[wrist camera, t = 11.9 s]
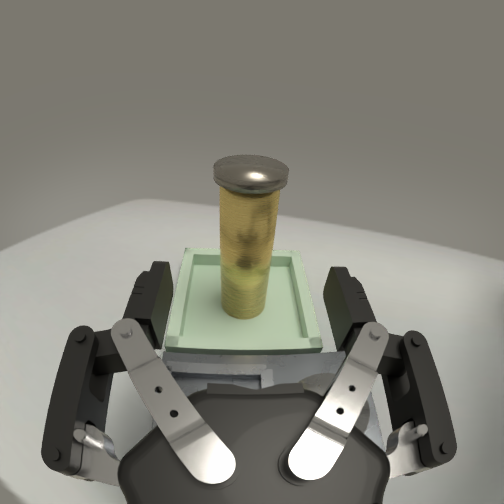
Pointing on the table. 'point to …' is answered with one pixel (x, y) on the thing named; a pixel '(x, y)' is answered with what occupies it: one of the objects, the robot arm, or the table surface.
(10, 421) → the table surface
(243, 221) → the pin
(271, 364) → the crank deck
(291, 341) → the tray
